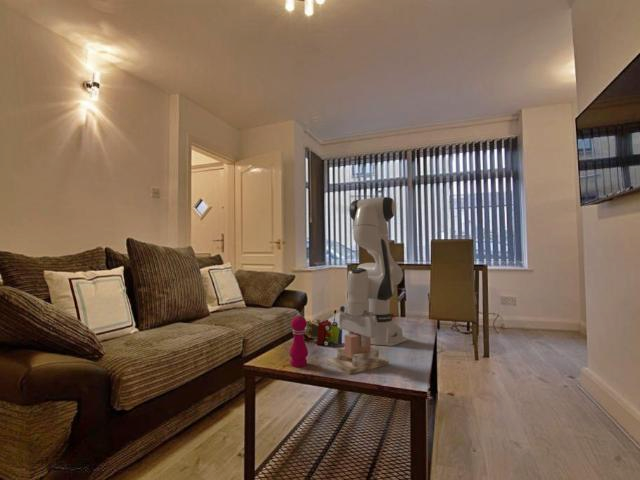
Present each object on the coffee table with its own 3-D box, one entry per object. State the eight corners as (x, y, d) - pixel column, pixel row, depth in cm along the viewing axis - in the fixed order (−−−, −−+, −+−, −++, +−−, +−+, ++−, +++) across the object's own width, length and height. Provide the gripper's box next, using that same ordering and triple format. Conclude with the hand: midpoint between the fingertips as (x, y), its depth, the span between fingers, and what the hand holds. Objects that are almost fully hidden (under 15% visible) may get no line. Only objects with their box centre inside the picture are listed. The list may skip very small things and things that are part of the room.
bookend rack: (365, 355, 140) (365, 342, 140) (388, 364, 129) (388, 350, 129) (326, 363, 129) (326, 349, 130) (348, 374, 118) (348, 358, 118)
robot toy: (336, 350, 150) (299, 340, 159) (344, 345, 158) (309, 336, 167) (340, 313, 150) (302, 306, 159) (348, 310, 158) (312, 303, 167)
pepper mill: (305, 368, 124) (305, 314, 125) (287, 366, 125) (287, 314, 126) (309, 362, 131) (310, 311, 132) (292, 360, 132) (292, 310, 133)
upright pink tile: (364, 351, 134) (364, 331, 134) (370, 354, 130) (370, 334, 130) (344, 355, 128) (344, 335, 128) (351, 358, 125) (351, 337, 125)
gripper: (382, 312, 123) (382, 349, 122) (348, 305, 140) (348, 337, 139) (369, 314, 119) (369, 352, 119) (336, 306, 137) (336, 339, 136)
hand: (357, 344), depth 129 cm, fingers closed on upright pink tile, 4 cm apart
